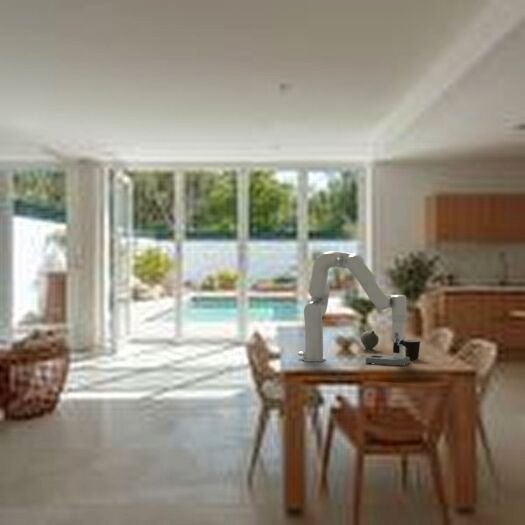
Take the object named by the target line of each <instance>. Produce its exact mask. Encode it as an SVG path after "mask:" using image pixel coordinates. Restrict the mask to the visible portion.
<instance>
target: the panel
mask: <svg viewBox="0 0 525 525" xmlns="http://www.w3.org/2000/svg"><path fill="white" fill-rule="evenodd" d="M409 362H410V363H411V360H410V357H406V356H405V358H404V359H395V355H385V354H371V355H369V356H367V357H366V358H365V364H366V363H374V364H373V365H379V364H389V365H388V366H395V365H404V364H406V365H408V364H409ZM407 363H408V364H407ZM404 366H405V365H404Z"/></svg>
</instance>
